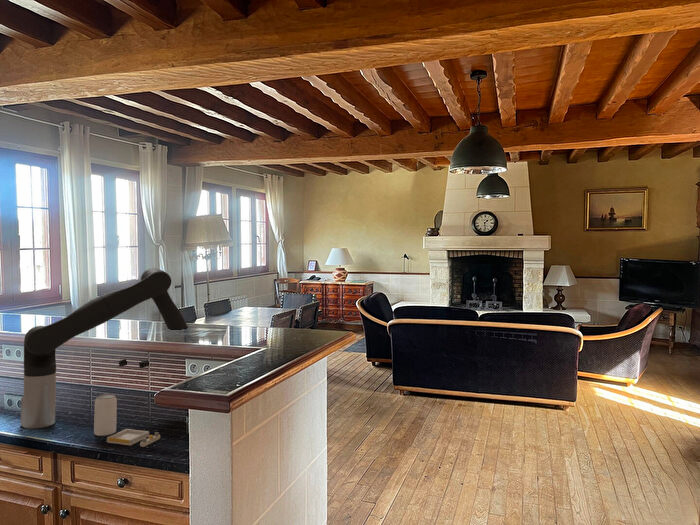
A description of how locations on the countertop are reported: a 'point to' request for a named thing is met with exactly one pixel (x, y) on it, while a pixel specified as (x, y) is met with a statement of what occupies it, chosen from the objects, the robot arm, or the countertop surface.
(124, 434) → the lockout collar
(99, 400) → the can
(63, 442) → the countertop surface
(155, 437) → the indicator bank
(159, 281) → the robot arm
